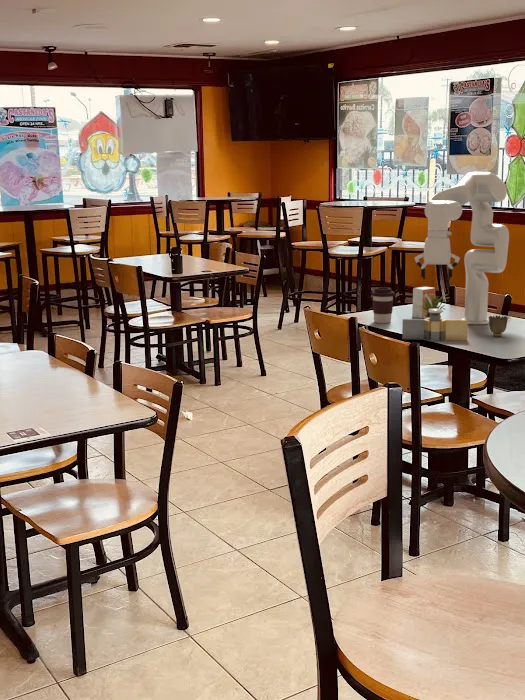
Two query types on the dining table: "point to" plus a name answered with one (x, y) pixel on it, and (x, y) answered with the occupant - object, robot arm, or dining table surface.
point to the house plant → (434, 304)
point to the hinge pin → (435, 314)
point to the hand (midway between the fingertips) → (436, 278)
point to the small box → (418, 302)
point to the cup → (497, 325)
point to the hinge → (434, 329)
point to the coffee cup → (382, 304)
